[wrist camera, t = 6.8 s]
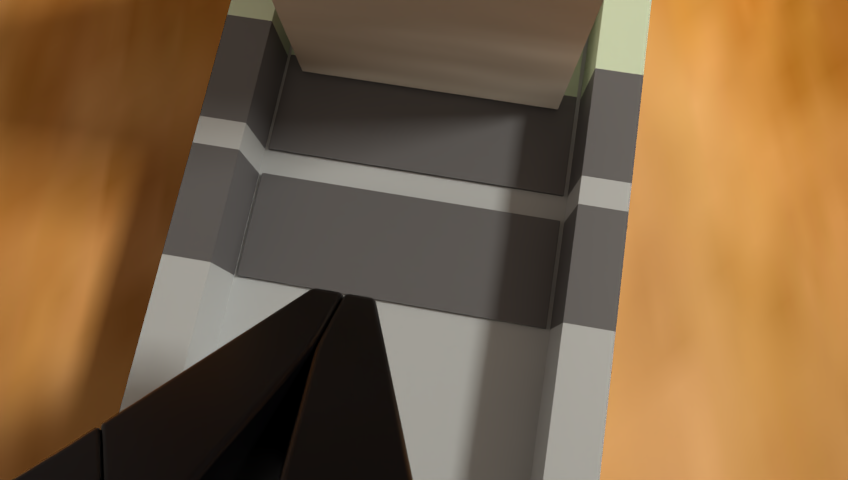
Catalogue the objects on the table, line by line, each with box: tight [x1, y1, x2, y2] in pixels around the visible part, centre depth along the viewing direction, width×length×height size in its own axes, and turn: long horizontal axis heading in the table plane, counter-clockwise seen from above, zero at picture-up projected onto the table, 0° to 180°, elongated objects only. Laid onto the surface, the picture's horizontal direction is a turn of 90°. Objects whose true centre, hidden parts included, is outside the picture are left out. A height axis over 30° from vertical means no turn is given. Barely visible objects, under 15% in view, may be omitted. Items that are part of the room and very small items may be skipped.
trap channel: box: [119, 0, 652, 480], centre depth 14 cm, size 17×9×2 cm, turn 170°
